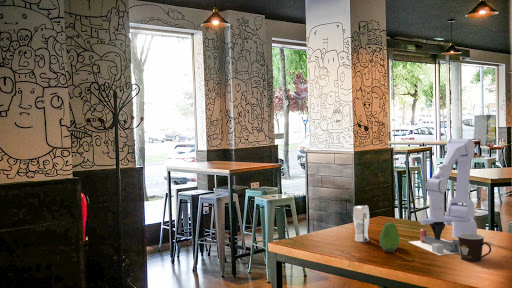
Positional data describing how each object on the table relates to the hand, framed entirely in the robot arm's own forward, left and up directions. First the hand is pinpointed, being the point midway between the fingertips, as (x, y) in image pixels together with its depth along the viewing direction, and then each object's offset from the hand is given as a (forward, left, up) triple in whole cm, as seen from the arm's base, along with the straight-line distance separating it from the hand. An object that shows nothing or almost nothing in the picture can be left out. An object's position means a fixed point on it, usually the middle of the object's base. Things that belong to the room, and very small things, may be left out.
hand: (437, 240), depth 199 cm
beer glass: (+22, -24, -4) cm, 33 cm away
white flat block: (0, +2, -3) cm, 4 cm away
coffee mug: (+1, +23, -4) cm, 23 cm away
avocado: (+20, -3, -4) cm, 21 cm away
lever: (+1, +3, -2) cm, 3 cm away
